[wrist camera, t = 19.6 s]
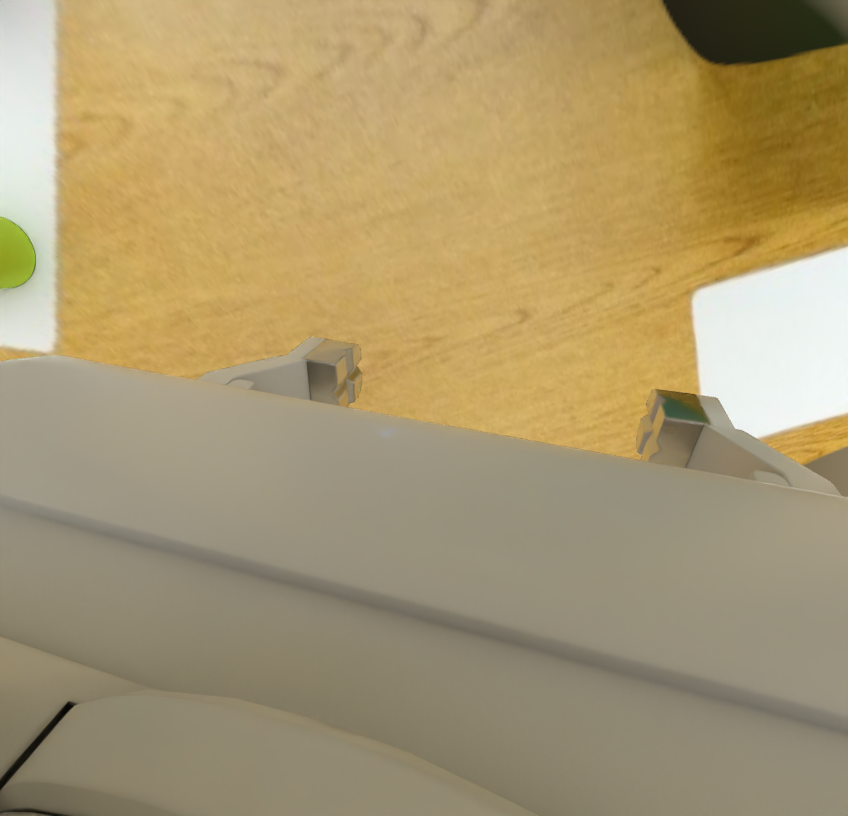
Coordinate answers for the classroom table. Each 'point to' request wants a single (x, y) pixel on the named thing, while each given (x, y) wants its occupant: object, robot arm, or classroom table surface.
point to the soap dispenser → (14, 255)
